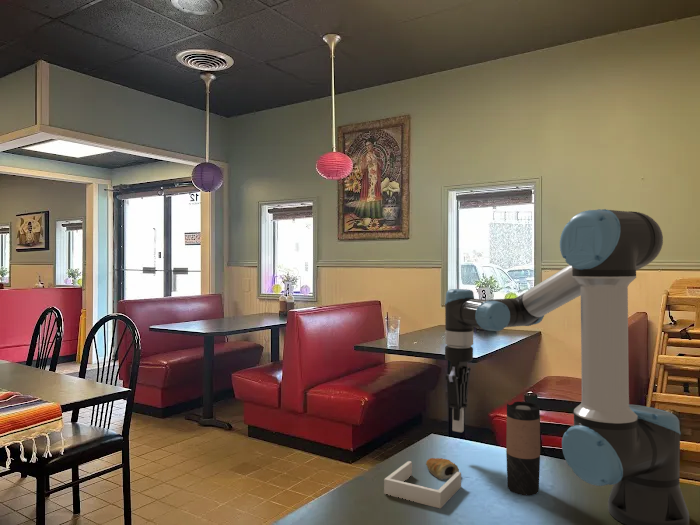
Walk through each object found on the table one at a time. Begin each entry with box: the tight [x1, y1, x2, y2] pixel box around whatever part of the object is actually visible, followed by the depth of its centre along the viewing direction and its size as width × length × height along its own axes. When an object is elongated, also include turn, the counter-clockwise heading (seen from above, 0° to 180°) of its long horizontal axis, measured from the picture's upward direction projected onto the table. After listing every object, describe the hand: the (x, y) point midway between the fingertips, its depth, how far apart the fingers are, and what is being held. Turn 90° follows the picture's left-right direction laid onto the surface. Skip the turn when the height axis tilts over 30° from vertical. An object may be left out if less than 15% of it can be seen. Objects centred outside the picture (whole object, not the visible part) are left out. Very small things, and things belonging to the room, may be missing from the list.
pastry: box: [425, 457, 460, 480], centre depth 139 cm, size 9×7×4 cm
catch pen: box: [383, 460, 462, 509], centre depth 128 cm, size 14×13×4 cm
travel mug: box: [505, 401, 541, 497], centre depth 128 cm, size 8×8×20 cm
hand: (458, 430), depth 149 cm, fingers closed
